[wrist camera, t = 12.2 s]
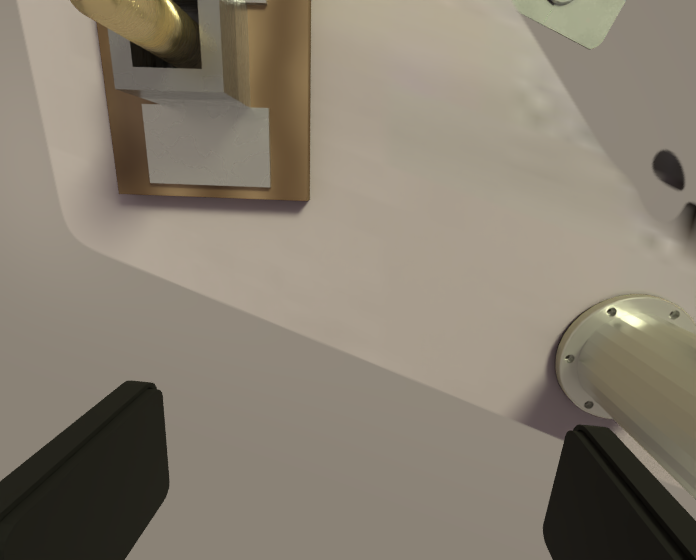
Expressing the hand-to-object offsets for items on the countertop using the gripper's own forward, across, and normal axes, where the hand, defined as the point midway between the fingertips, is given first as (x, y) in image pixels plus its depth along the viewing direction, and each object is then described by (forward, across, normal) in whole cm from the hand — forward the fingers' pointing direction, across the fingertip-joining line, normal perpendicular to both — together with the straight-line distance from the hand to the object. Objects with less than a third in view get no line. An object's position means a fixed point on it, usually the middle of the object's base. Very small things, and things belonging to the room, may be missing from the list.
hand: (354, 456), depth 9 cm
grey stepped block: (+24, +14, -14) cm, 31 cm away
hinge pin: (+22, +14, -14) cm, 30 cm away
